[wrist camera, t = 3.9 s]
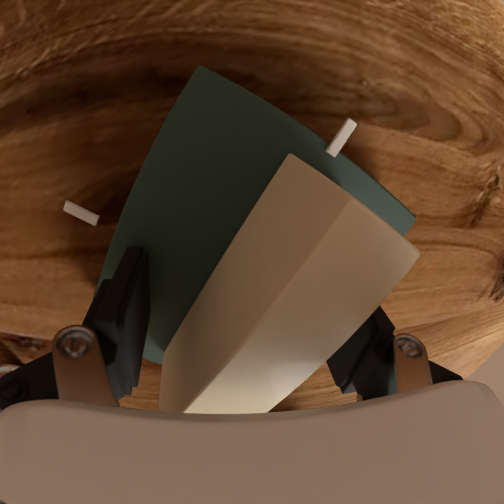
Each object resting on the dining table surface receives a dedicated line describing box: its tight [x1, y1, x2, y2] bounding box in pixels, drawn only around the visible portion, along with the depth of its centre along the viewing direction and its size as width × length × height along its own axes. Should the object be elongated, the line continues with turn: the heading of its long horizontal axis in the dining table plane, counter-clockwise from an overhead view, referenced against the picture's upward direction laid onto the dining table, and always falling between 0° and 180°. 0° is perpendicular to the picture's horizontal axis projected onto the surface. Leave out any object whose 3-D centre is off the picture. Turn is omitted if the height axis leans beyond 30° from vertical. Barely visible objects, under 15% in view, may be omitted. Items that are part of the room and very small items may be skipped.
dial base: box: [63, 65, 416, 365], centre depth 12 cm, size 14×14×3 cm
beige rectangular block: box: [158, 154, 420, 414], centre depth 9 cm, size 10×2×5 cm, turn 148°
